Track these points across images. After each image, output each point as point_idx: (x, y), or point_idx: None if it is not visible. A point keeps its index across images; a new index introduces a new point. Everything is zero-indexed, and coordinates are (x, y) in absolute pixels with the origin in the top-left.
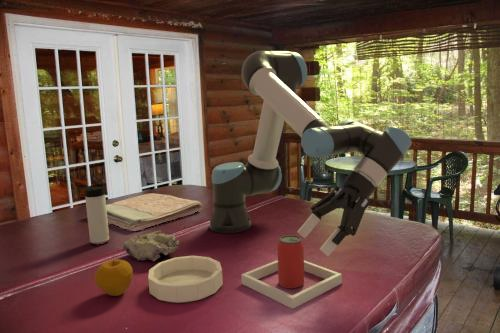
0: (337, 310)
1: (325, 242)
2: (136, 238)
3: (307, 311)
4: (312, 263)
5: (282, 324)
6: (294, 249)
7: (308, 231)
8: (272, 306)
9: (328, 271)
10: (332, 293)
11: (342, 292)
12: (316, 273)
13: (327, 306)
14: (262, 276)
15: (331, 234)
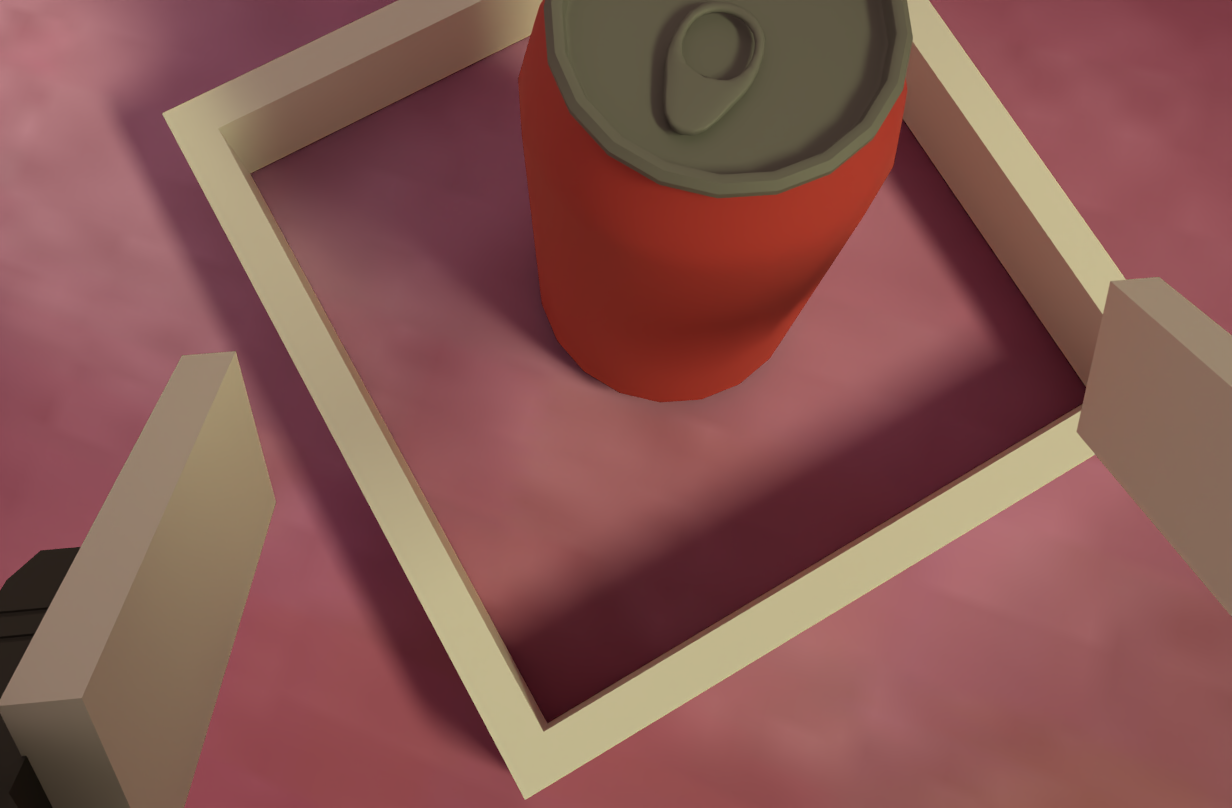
0: (34, 516)
1: (180, 434)
2: None
3: (116, 262)
4: (902, 567)
5: (3, 24)
6: (524, 79)
7: (1150, 479)
8: (297, 22)
9: (642, 673)
10: (351, 598)
11: (339, 705)
12: (782, 584)
13: None
14: None
15: (136, 553)
